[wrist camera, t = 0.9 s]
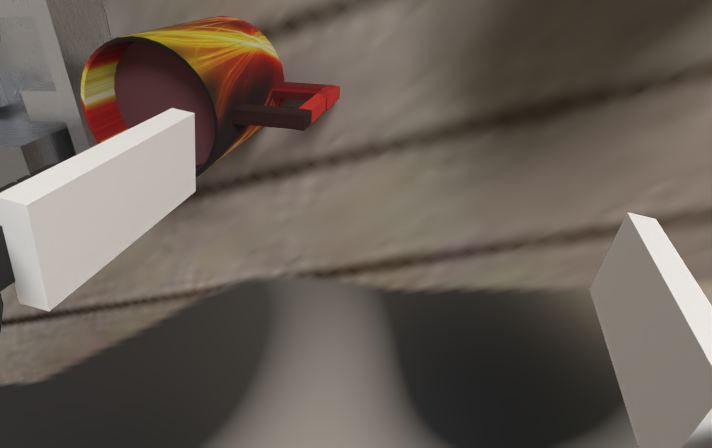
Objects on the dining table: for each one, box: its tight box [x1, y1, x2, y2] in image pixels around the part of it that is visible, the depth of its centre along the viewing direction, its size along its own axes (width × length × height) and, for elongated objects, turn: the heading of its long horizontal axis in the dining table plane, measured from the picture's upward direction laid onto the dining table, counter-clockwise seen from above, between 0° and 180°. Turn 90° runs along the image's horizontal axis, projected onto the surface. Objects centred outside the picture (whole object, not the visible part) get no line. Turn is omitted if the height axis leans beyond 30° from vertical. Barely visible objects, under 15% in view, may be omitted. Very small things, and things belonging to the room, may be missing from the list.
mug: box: [81, 16, 340, 177], centre depth 36 cm, size 10×14×12 cm
